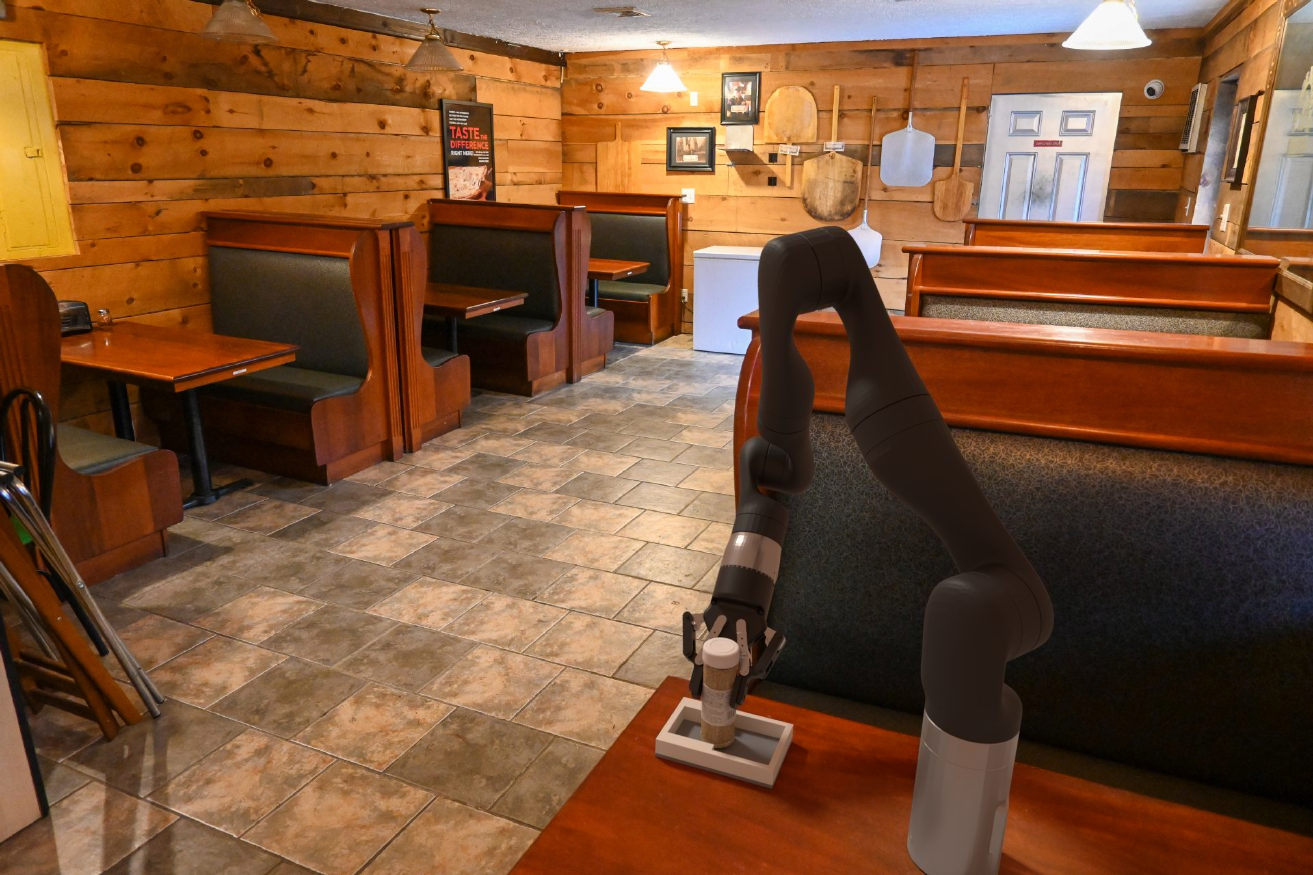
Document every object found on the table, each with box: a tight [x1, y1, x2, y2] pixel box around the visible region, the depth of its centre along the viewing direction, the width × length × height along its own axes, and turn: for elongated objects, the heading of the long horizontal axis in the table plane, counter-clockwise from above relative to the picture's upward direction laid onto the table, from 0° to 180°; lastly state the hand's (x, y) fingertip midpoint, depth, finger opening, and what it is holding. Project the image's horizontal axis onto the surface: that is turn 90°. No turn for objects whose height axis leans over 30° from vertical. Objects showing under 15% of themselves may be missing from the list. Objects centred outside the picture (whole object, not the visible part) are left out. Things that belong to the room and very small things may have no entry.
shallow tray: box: [654, 696, 794, 790], centre depth 109 cm, size 15×10×2 cm, turn 68°
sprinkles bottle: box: [700, 638, 740, 748], centre depth 108 cm, size 5×5×13 cm
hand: (714, 701), depth 107 cm, fingers closed on sprinkles bottle, 4 cm apart
